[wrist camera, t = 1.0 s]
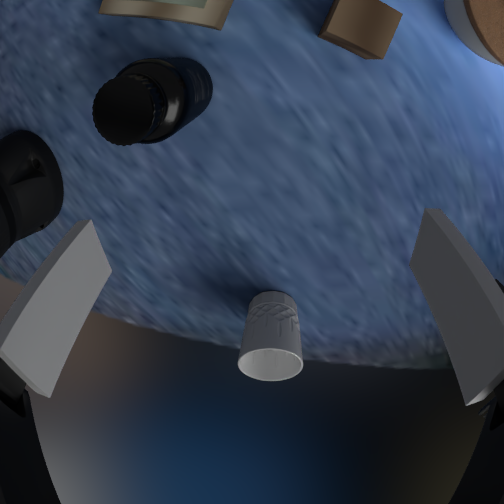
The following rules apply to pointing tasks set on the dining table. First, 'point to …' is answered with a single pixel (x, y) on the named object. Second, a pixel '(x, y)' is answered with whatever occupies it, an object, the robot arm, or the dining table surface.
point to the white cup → (271, 338)
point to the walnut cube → (361, 26)
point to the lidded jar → (479, 26)
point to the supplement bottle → (151, 100)
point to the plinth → (172, 10)
